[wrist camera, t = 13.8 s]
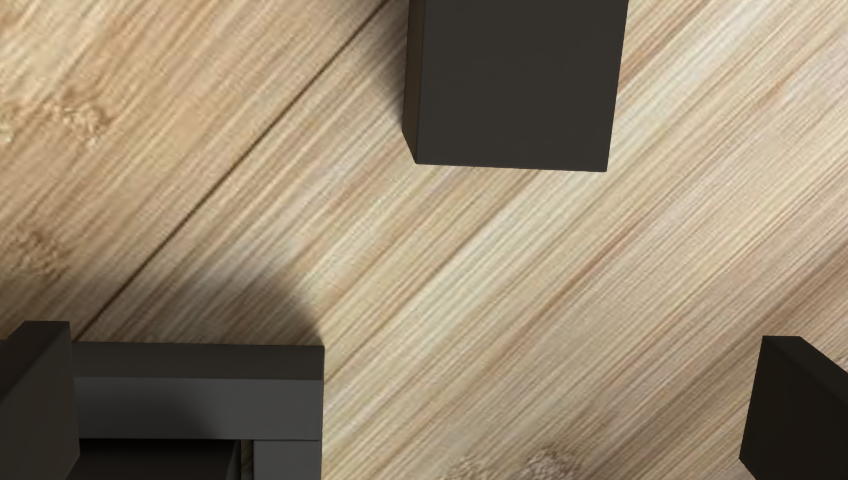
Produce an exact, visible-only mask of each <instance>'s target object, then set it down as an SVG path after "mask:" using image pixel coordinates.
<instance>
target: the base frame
mask: <svg viewBox="0 0 848 480" xmlns="http://www.w3.org/2000/svg"><path fill="white" fill-rule="evenodd" d="M4 341H5V340H0V345H1V344H2V343H3V342H4ZM71 348H72V360H73V373H74V385H75V398H76V410H77V423H78V435H79V438H130V439H254V440H253V480H321V462H322V427H323V392H324V356H325V347H324V346H283V345H229V344H174V343H120V342H71Z"/></svg>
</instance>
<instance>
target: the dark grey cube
mask: <svg viewBox="0 0 848 480" xmlns="http://www.w3.org/2000/svg"><path fill="white" fill-rule="evenodd" d="M79 448H80V456H79V458H78V459H77V461H76V463H75V464H74V466H73V468H72V469H71V471H70V472H69V474H68V476H67V477H66V479H65V480H241V439H130V438H79Z"/></svg>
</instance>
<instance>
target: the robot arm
mask: <svg viewBox="0 0 848 480" xmlns="http://www.w3.org/2000/svg"><path fill="white" fill-rule="evenodd" d="M79 456H80V448H79V435H78V423H77V410H76V398H75V385H74V373H73V360H72V348H71V335H70V323H69V321H24V322H23V323H22V324H21V325H20V326H19V327H18V328H17V329H16V330H15V331H14V332H13V333H12V334H11V335H10V336H9V337H8V338H7V339H6V340H5V341H4V342H3V343H2V344H1V345H0V480H65V479H66V477H67V476H68V474H69V472H70V471H71V469H72V468H73V466H74V464H75V463H76V461H77V459H78V458H79ZM739 459H740V461H741V462H742V463H743V464H744V465H745V467H746V468H747V469H748V470H749V472H750V473H751V474H752V475H753V476H754V478H755V479H756V480H848V373H847V372H846V371H844V370H843V369H842V368H841V367H839V366H838V365H837V364H835V363H834V362H833V361H831V360H830V359H829V358H828V357H826V356H825V355H824V354H822V353H821V352H820V351H818V350H817V349H816V348H815V347H813V346H812V345H811V344H809V343H808V342H807V341H805V340H804V339H803V338H802V337H800V336H763V338H762V343H761V348H760V353H759V359H758V364H757V369H756V374H755V379H754V384H753V389H752V394H751V399H750V404H749V409H748V414H747V419H746V424H745V429H744V434H743V439H742V444H741V450H740V455H739Z"/></svg>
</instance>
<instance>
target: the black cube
mask: <svg viewBox="0 0 848 480" xmlns="http://www.w3.org/2000/svg"><path fill="white" fill-rule="evenodd" d="M628 2H629V0H409V15H408V34H407V53H406V71H405V90H404V109H403V127H402V133H403V135H404V137H405V140H406V142H407V144H408V147H409V149H410V152H411V154H412V156H413V159H414V161H415V163H416V164H425V165H448V166H471V167H494V168H518V169H541V170H564V171H587V172H606V171H607V165H608V157H609V149H610V142H611V134H612V126H613V118H614V111H615V103H616V95H617V87H618V79H619V72H620V64H621V56H622V48H623V41H624V33H625V25H626V17H627V9H628Z"/></svg>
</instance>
